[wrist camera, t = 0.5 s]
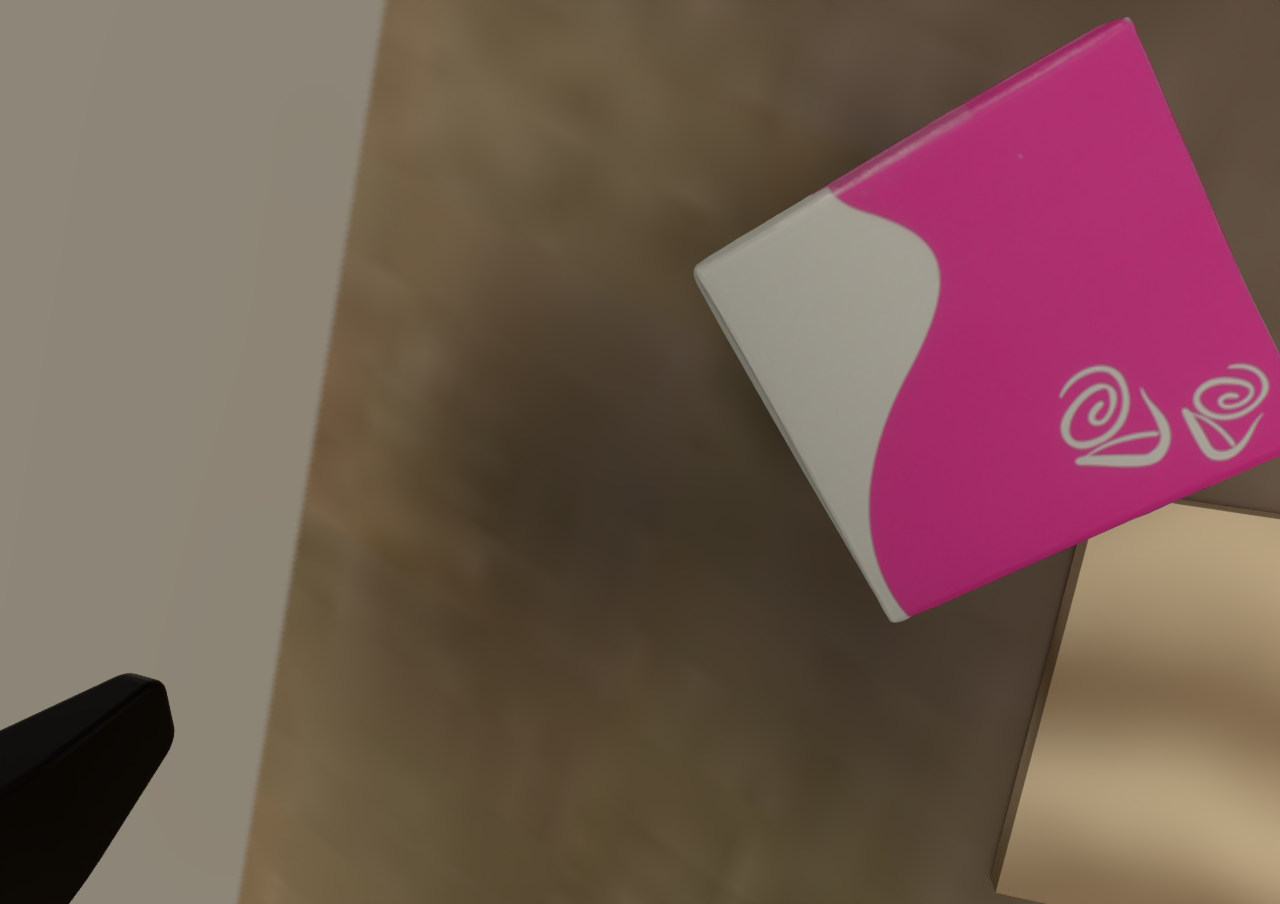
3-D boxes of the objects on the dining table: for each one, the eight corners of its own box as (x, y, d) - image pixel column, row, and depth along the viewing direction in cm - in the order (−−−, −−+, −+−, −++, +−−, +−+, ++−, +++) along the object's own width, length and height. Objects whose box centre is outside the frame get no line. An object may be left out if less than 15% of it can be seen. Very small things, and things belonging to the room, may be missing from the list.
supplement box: (833, 451, 22) (879, 641, 11) (727, 254, 21) (664, 249, 10) (1045, 346, 21) (1342, 446, 10) (939, 131, 20) (1127, -27, 9)
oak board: (1432, 958, 23) (1466, 994, 22) (985, 863, 25) (995, 892, 24) (1603, 557, 20) (1653, 575, 19) (1083, 480, 22) (1100, 492, 21)
